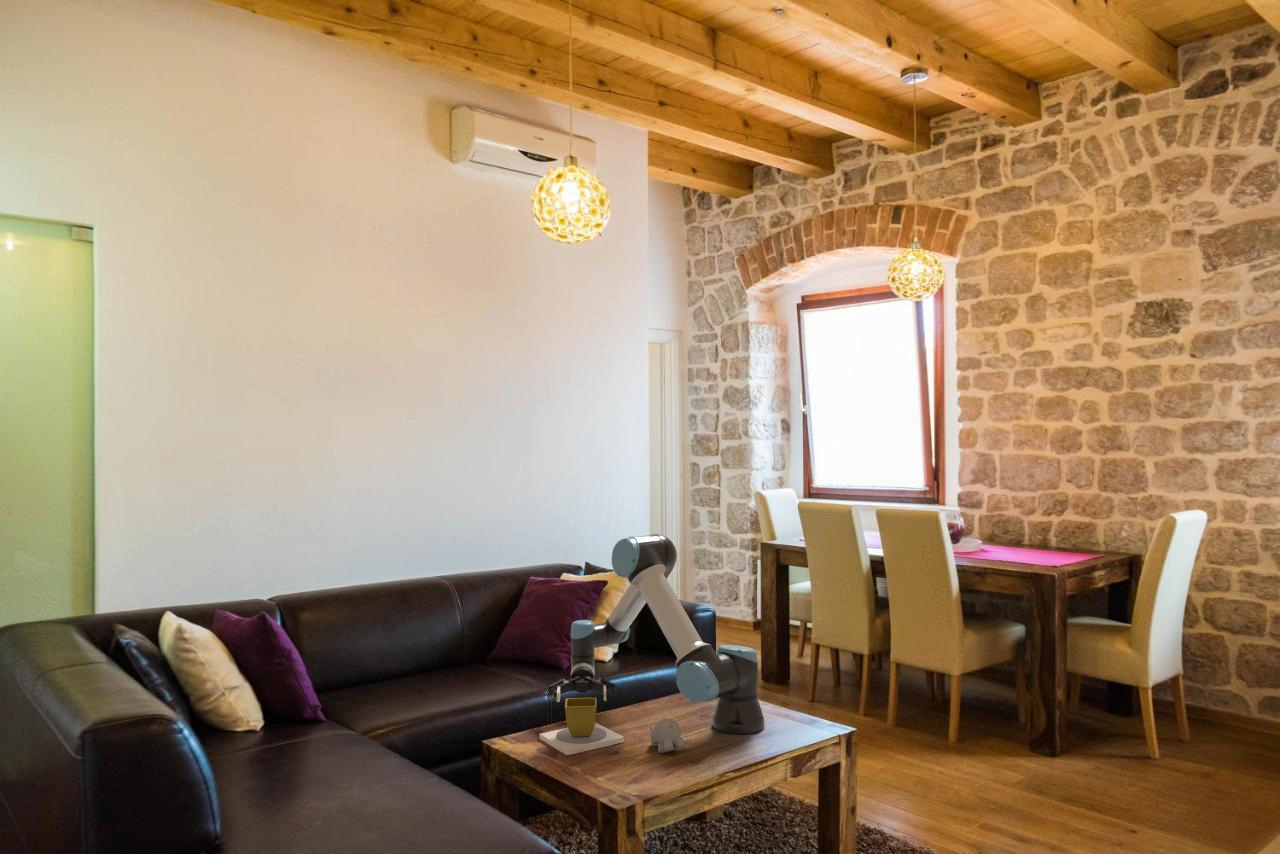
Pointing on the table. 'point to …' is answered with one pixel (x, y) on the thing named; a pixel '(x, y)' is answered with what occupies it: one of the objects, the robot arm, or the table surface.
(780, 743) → the table surface
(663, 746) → the hippopotamus figurine
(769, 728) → the table surface
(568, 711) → the flower pot
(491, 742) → the table surface
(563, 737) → the tile stand
